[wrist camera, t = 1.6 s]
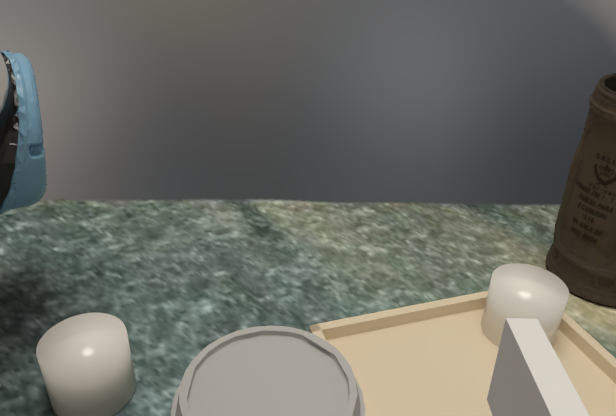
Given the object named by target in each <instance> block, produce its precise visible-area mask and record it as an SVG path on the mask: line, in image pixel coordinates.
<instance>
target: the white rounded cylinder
mask: <svg viewBox="0 0 616 416" xmlns="http://www.w3.org/2000/svg"><path fill="white" fill-rule="evenodd" d="M568 298H569V290H568V288H567V286H566V284H565V283H564V282H563V281H562V280H561V279H560V278H559V277H557V276H556V275H554V274H553V273H551V272H549V271H547V270H545V269H542V268H540V267H537V266H533V265H528V264H521V263H512V264H506V265H502V266H500V267H498V268H497V269H495V271H494V272H493V274H492V278H491V282H490V286H489V291H488V295H487V299H486V303H485V308H484V312H483V316H482V320H481V328H482V331H483V333H484V335H485V336H486V337H487V338H488V339H489V340H490V341H491V342H492V343H493V344H494V345H496V346H497V347H499V345H500V341H501V337H502V332H503V328H504V324H505V319H506V318H525V319H538V321H539V323H540V325H541V327H542V329H543V331H544V332H545V334H546V336H547V338H548V340H549V342H550V343H551V345H552V346H553V344H554V341H555V338H556V335H557V332H558V328H559V325H560V322H561V319H562V316H563V313H564V310H565V307H566V304H567V301H568Z"/></svg>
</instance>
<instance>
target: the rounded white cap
mask: <svg viewBox="0 0 616 416" xmlns="http://www.w3.org/2000/svg"><path fill="white" fill-rule="evenodd" d="M36 355H37V359H38V363H39V366H40V369H41V372H42V376H43V379H44V382H45V386H46V389H47V392H48V395H49V399H50V402H51V405H52V408H53V411H54V412H55V414H56V415H57V416H112V415H114V414H115V413H117V412H118V411H120V410H121V409H122V408H123V407H124V406H125V405H126V404H127V403H128V402H129V401H130V399H131V398H132V396H133V394H134V392H135V388H136V378H135V373H134V367H133V362H132V357H131V352H130V346H129V341H128V336H127V331H126V327H125V325H124V323H123V322H122V321H121V320H120V319H118V318H117V317H115V316H113V315H110V314H105V313H86V314H81V315H76V316H73V317H70V318H68V319H65V320H63V321H61V322H59V323H58V324H56V325H54V326H53V327H52V328H50V329H49V330H48V331H47V332H46V333H45V334H44V335H43V336H42V338H41V339H40V341H39V343H38V345H37V348H36Z"/></svg>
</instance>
